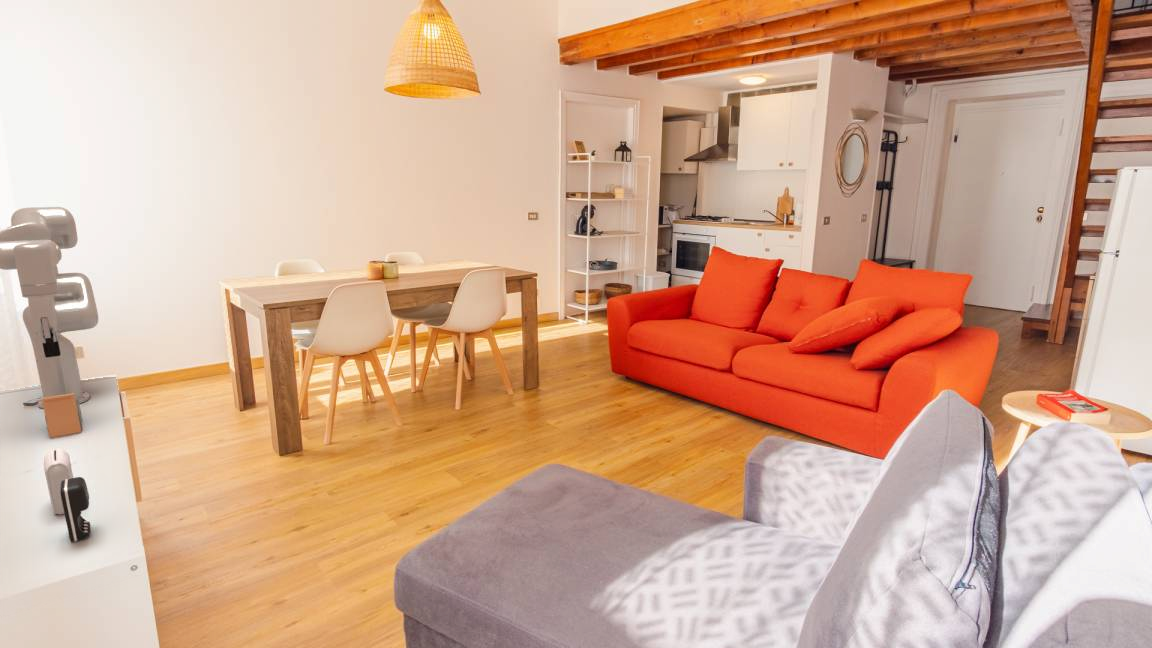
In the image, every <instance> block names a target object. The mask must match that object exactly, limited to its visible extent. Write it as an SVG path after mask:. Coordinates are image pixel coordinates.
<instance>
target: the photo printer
mask: <svg viewBox="0 0 1152 648" xmlns="http://www.w3.org/2000/svg"><path fill="white" fill-rule="evenodd" d="M43 467H44V468H43V469H44V475H45V479H46V485H47V489H48V494H49V498H50V504H51V507H52V511H53V513H54V514H55V515H57V514H58V515H65V514H64V509H63V504H62V499H61V493H60V489H61V482H62V481H63V480H65V479H71V478H74V474H73V469H72V464H71V457H70V454H69V452H67V450H65V449H63V448H59V447H58V448H55V449H51V450H49V451H47V453H46V455H45V457H44V461H43Z"/></svg>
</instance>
